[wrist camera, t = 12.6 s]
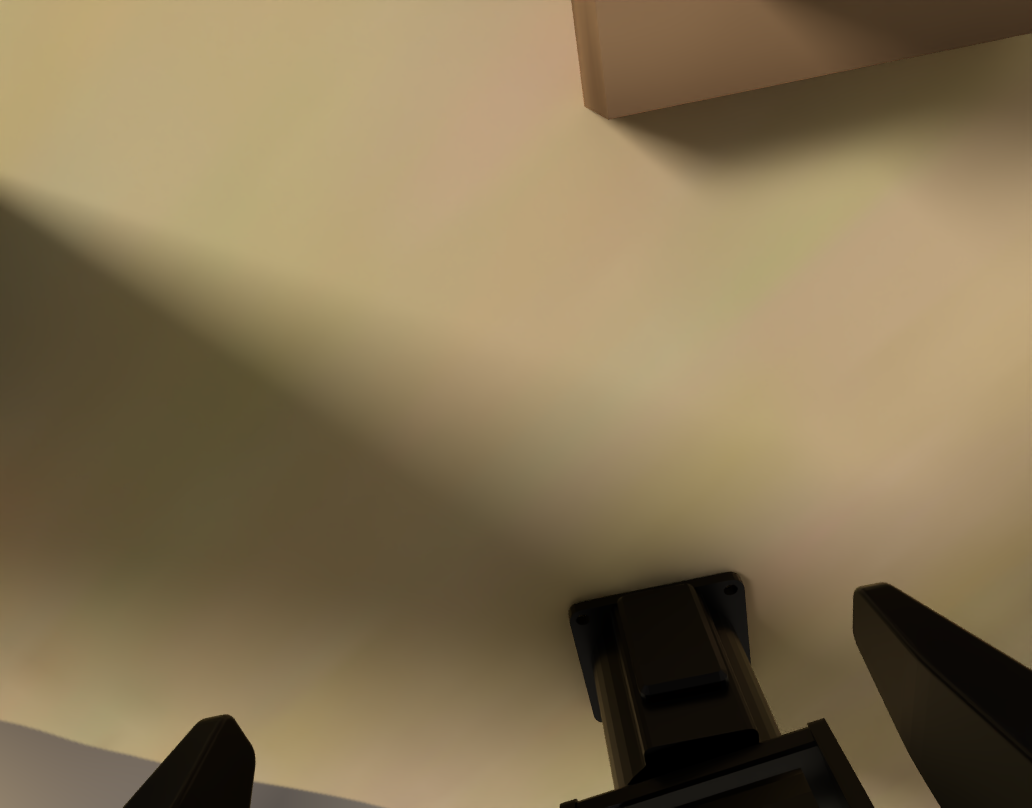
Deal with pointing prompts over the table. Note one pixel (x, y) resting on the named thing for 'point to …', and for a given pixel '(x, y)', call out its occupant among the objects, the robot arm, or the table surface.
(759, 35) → the walnut block
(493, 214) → the table surface
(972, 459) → the table surface
